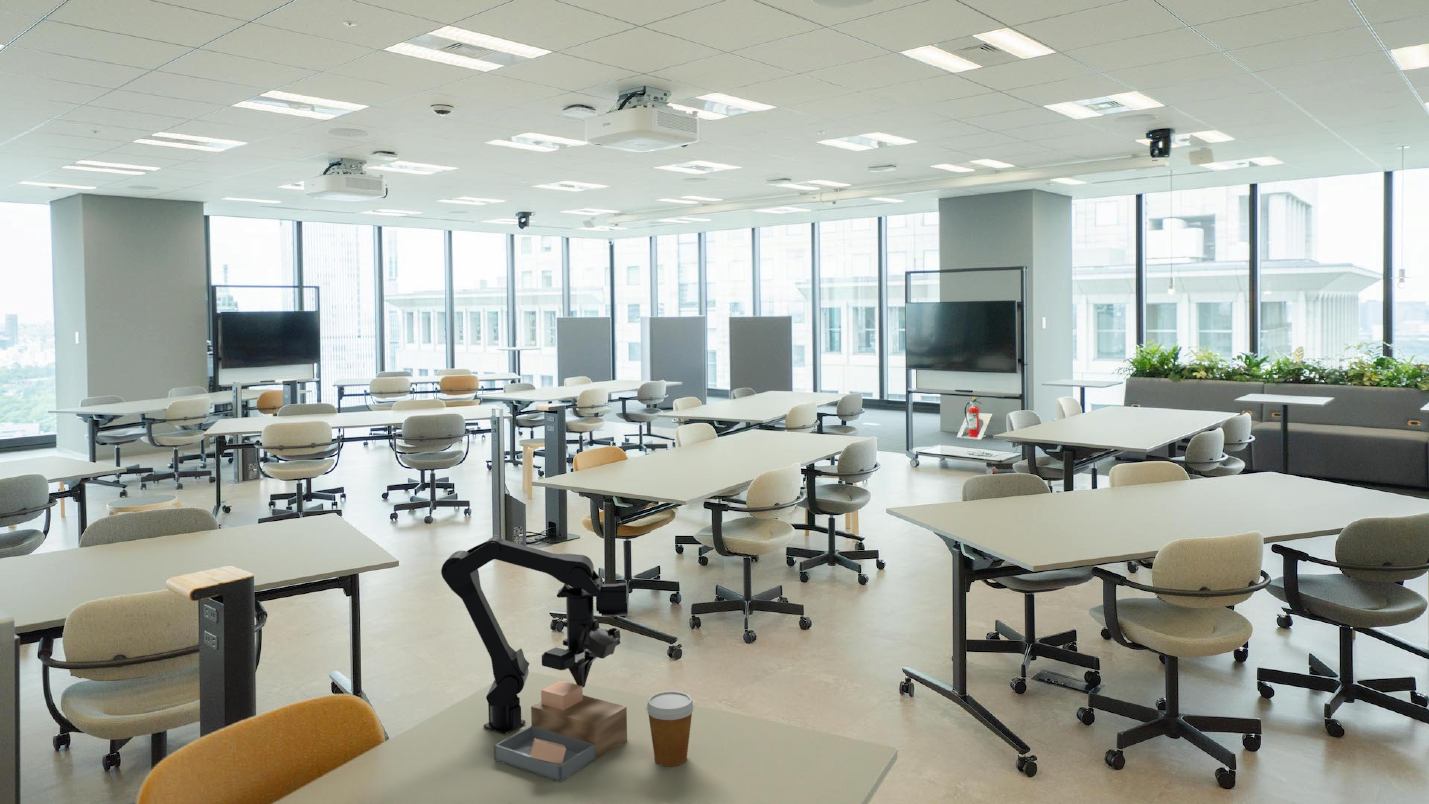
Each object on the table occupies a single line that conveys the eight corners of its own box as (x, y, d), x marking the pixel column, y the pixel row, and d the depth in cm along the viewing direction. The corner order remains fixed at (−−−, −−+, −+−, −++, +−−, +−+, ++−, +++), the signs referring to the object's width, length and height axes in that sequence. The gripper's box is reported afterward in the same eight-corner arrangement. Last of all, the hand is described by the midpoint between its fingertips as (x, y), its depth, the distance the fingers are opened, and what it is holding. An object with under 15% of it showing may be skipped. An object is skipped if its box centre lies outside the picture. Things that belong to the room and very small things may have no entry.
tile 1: (541, 704, 187) (541, 690, 187) (560, 694, 193) (560, 680, 192) (563, 710, 184) (563, 696, 184) (582, 700, 189) (582, 686, 189)
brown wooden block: (531, 739, 187) (531, 706, 186) (564, 721, 195) (563, 690, 195) (596, 759, 178) (595, 725, 177) (627, 739, 186) (626, 706, 186)
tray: (494, 760, 178) (494, 745, 178) (531, 739, 187) (531, 725, 187) (560, 782, 169) (559, 766, 169) (596, 759, 178) (595, 744, 178)
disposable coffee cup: (688, 772, 172) (688, 711, 171) (640, 768, 174) (639, 707, 173) (699, 750, 182) (699, 692, 181) (653, 746, 183) (653, 688, 182)
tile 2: (564, 745, 177) (559, 761, 176) (534, 738, 176) (529, 754, 176) (566, 748, 172) (561, 764, 171) (535, 740, 171) (530, 757, 170)
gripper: (581, 635, 180) (582, 711, 182) (636, 610, 196) (637, 680, 197) (539, 626, 186) (540, 699, 187) (596, 602, 202) (597, 670, 203)
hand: (581, 687), depth 194 cm, fingers closed
